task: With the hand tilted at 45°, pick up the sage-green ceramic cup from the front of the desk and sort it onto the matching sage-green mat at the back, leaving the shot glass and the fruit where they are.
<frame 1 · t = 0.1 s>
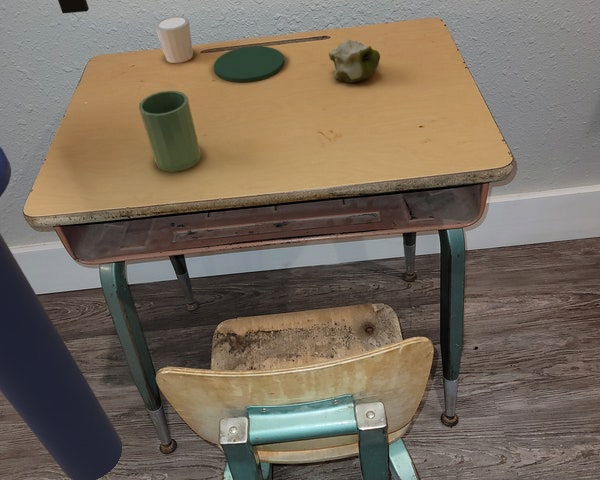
green mat: (249, 65, 119), on the table
green cup: (178, 158, 98), on the table
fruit: (354, 77, 112), on the table
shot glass: (179, 57, 124), on the table
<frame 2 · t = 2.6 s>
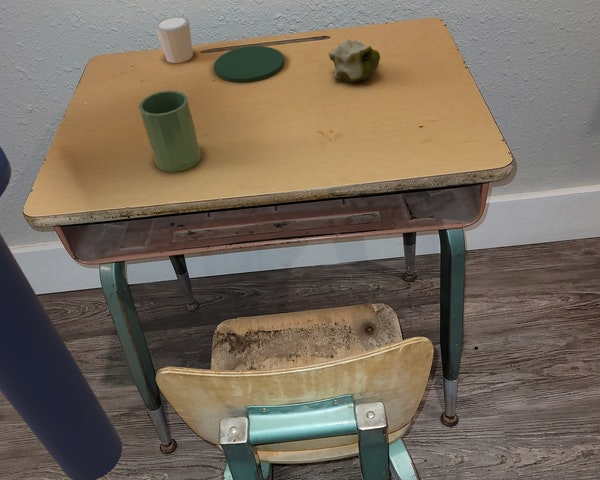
nothing on the table moved.
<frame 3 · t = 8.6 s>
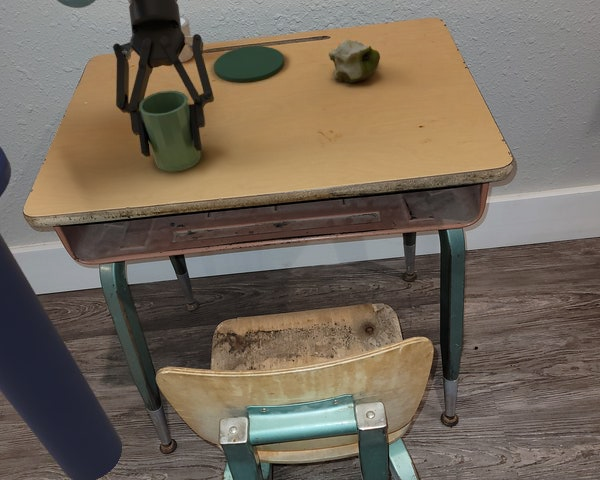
hand: (172, 151, 93), 4 cm above the table, tool tilted 45°, fingers closed on green cup, 7 cm apart
green cup: (178, 158, 98), on the table, touching gripper
everything else where it was.
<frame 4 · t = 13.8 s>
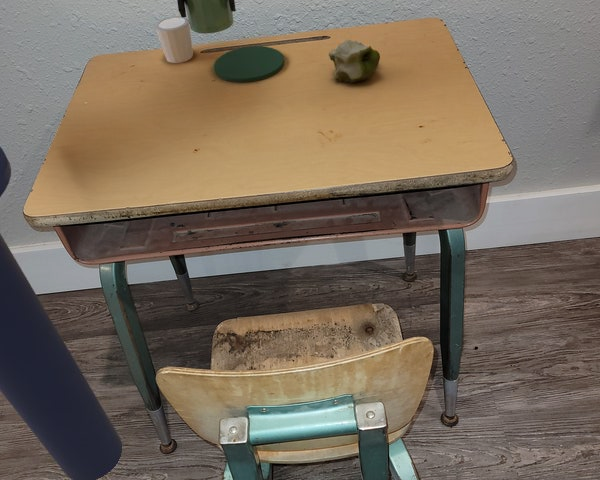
hand: (207, 10, 96), 17 cm above the table, tool tilted 45°, fingers closed on green cup, 7 cm apart
green cup: (212, 24, 101), point 13 cm above the table, touching gripper
everything else where it was.
when the fingers open (4 cm above the table, at t = 19.2 s): green cup stays where it is, resting on green mat.
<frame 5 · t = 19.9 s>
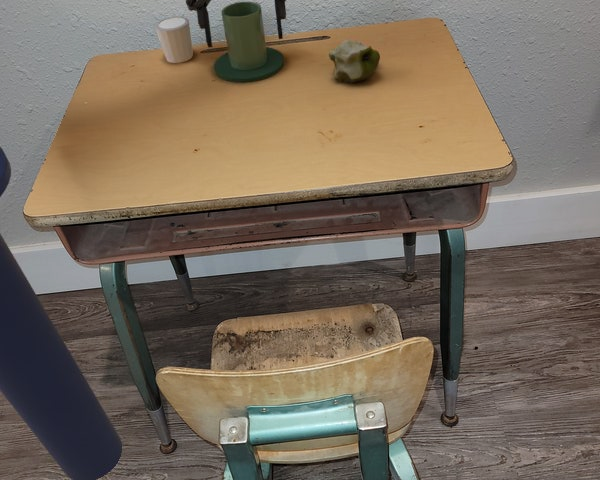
hand: (245, 40, 113), 6 cm above the table, tool tilted 45°, fingers open, 13 cm apart
green cup: (248, 61, 118), point 1 cm above the table, touching green mat
everything else where it was.
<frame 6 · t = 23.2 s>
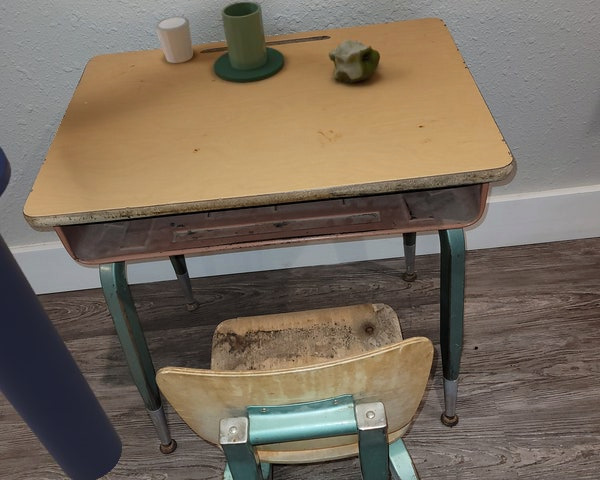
nothing on the table moved.
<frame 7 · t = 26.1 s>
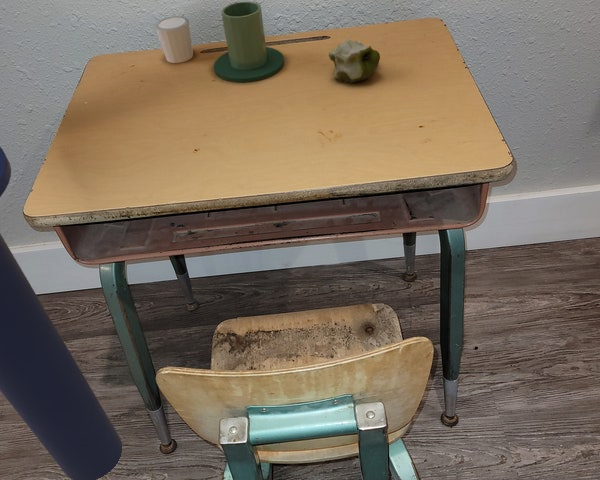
nothing on the table moved.
at the end: green cup inside the target area on the green mat (0.0 cm from its centre), point 0.8 cm above the green mat's base; green cup tilted 0°; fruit moved 0.2 cm from its start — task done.
